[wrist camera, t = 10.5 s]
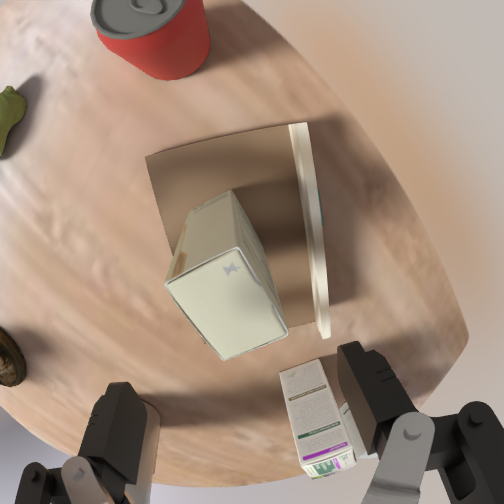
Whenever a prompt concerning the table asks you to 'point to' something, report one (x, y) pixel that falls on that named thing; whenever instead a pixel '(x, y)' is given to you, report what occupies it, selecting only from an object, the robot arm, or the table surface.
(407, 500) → the robot arm
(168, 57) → the beer can
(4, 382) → the brown lumpy upright piece
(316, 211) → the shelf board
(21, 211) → the table surface
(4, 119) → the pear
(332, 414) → the syrup box
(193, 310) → the skincare box
